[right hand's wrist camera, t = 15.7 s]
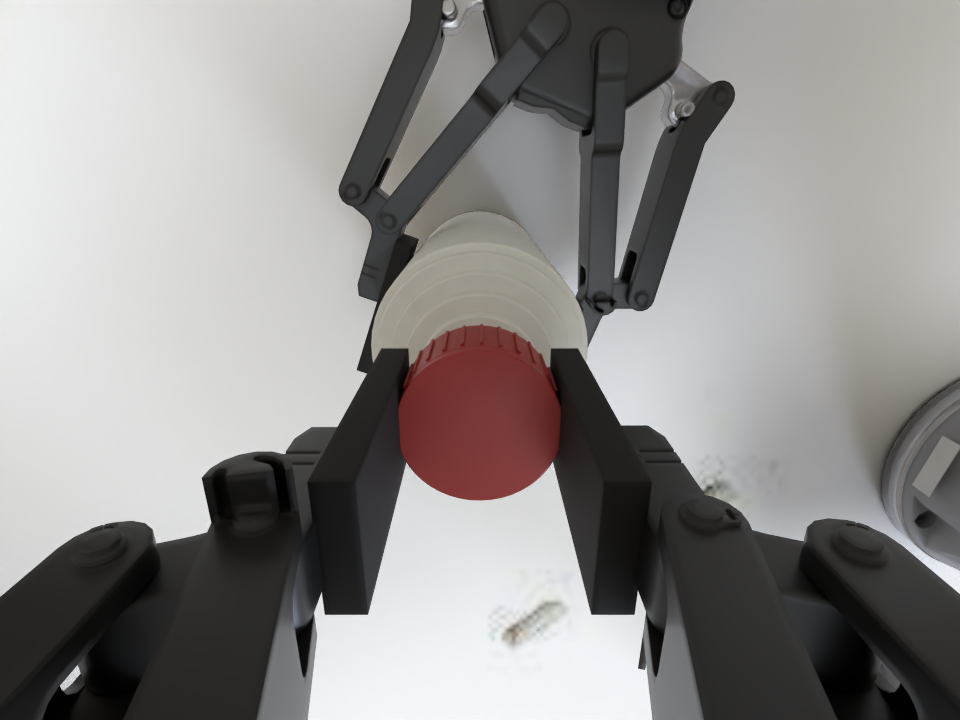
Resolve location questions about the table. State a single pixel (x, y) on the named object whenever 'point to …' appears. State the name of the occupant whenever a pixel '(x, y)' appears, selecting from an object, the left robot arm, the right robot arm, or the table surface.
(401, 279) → the bottle
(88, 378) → the table surface
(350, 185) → the left robot arm
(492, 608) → the table surface
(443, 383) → the cap
